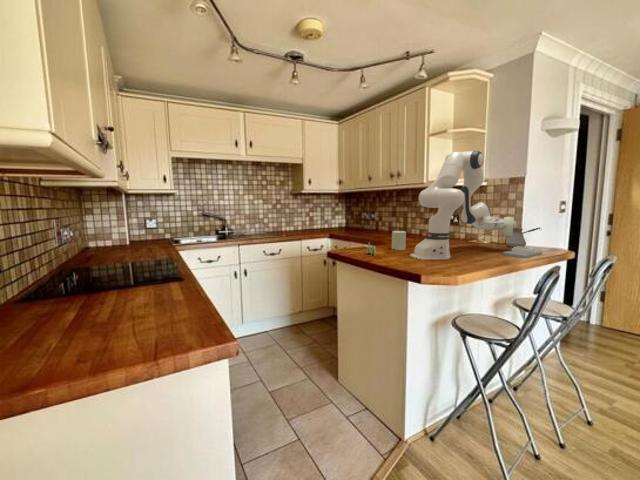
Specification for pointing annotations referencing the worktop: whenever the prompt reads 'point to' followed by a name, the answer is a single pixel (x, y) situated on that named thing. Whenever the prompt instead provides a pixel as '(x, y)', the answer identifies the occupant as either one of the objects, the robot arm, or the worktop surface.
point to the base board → (522, 252)
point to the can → (398, 240)
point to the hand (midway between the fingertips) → (509, 225)
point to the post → (508, 226)
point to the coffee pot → (518, 237)
